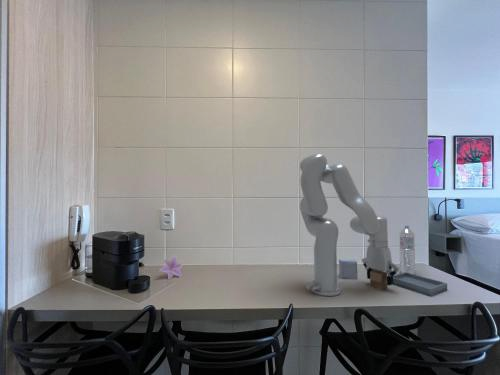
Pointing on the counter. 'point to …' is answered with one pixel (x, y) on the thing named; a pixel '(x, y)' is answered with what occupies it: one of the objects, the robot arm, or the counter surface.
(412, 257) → the water bottle
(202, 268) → the counter surface
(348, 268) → the medicine box
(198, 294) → the counter surface
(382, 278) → the walnut block
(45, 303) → the counter surface
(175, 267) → the lily
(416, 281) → the tray
